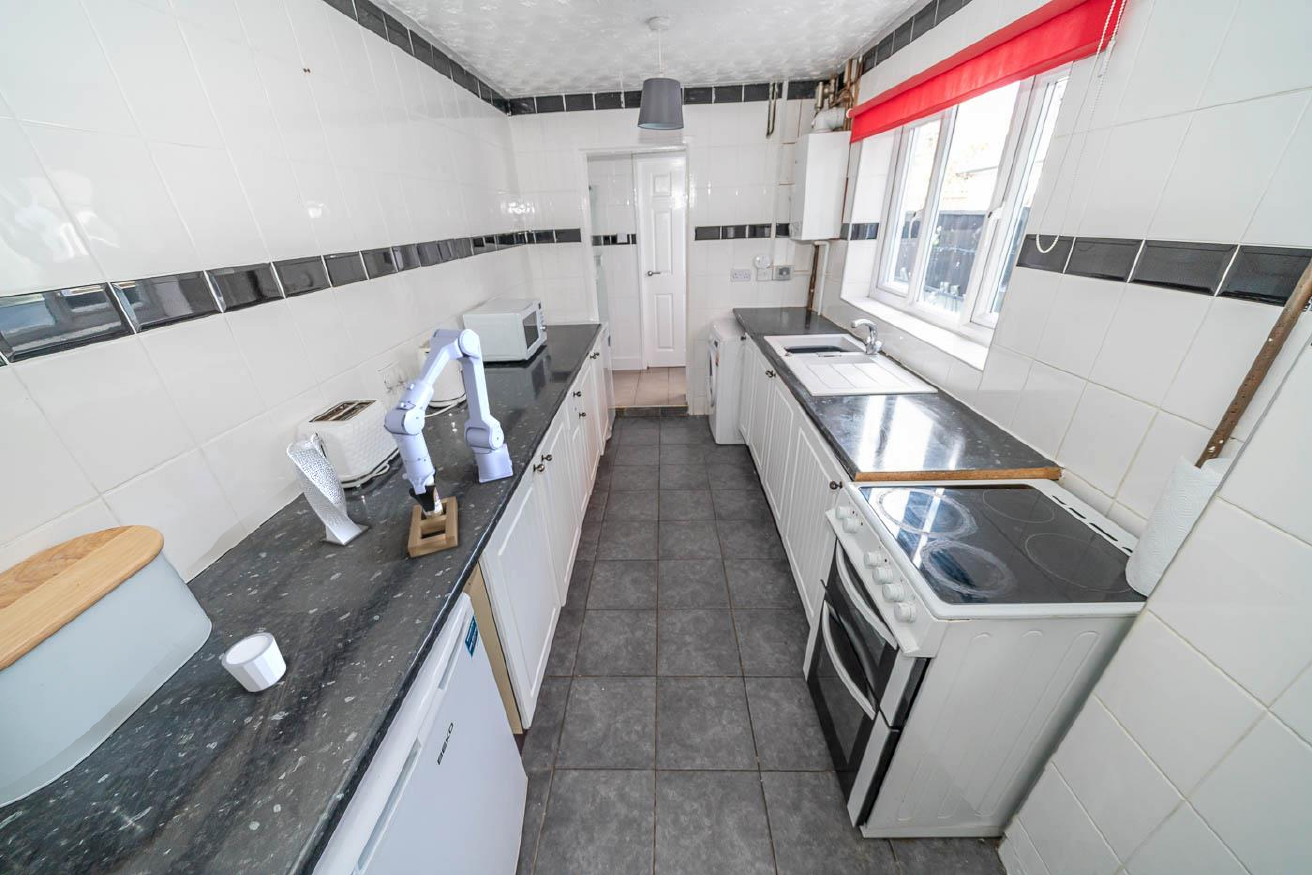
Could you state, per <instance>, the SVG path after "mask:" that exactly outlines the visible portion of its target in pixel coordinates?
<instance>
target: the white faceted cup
mask: <svg viewBox="0 0 1312 875" xmlns="http://www.w3.org/2000/svg"><path fill="white" fill-rule="evenodd" d="M279 648H280V647H279V646H278V644H277V641H276V640H275V637H274V635H273V634H271V633H270V632H258V633H254V634H251V635H248V636H247V637H244V638H242V639H241V640H240V641H238V642H236V643H234V644H233V645H232V646H231V647H230V648H229V649H228V650H226V652H225V653H224V655H223V657H222V658H221V666H222V667H223V668H224V669H226V671H227V672H228V673H229V674H231V675H232V677H234V679H236V681H237V682H239V683H240V685H242V686H243V688H244V689H246V691H248V692H251V693H252V692H253V693H257V692H261V691H263V690H266V689H267V688H269V687H271V686H273V685H274V684H276V683H277V682H278V681H279V680H280V679H281V678H282V677H283V675H284V674H285V673H286V670H287V665H286V662H285V660H284V657H283V656H282V652H281V651H280V649H279Z"/></svg>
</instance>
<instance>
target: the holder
mask: <svg viewBox="0 0 1312 875" xmlns="http://www.w3.org/2000/svg"><path fill="white" fill-rule="evenodd" d="M440 502H441V505H442V509H443V512H444V513H445V514H444V515H443V516H438V517H434V518H430V519H426V516H425V514H424V512H423V509H422V506H421V505H420V503H419V504H415V505H413V510H412V517H411V522H410V529H409V535H408V542H407V550H408V553H409V556H410V558H416V557H420V556H423V555H427V554H431V553H434V552H438V551H443V550H446V549H450V548H455V547H458V532H459V530H458V527H459V524H458V522H459V520H458V519H459V518H458V516H459V514H458V513H459V510H458V509H459V505H458V502H457V498H456V495H455V496H449V497H445V498H442V499H440ZM441 531H445V533H442V534H437V535H433V536H430V537H425V538H423V537H424V536H425V535H430V534H434V533H438V532H441Z"/></svg>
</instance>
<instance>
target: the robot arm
mask: <svg viewBox="0 0 1312 875" xmlns="http://www.w3.org/2000/svg"><path fill="white" fill-rule="evenodd" d="M428 342H429V347H430V349H429V352H428V353H427V356H426V358H425V361H424V363H423V365H422V367H421V370H420V372H419V374H418V377H417V378H416V379H413V380H410V381H409V382H408V383H407V384H406V385H405V387H404V388H405V390H404V391H403V393H402V395H401V397H400V399H399V400H398V401H397V404H396V406H395V407H394V408H391V409H390V410H389V411H388V412H387V413H386V414H385V416H384V424H383V425H382V426H383V428H384V430H385V431H386V432H388V433H390V435H391V436H392V439H394V440H395V443H396V446H397V449H398V452H399V455H400V457H401V460H402V463H403V465H404V469H405V473H403V474H402V479H403V480H404V481H405V480H408V481H409V482H410V483H411V485H412V486H413V487H411V488H408V494H409V496H410V497H411V498H413V499H414V500H415V501H417V502H418V503H419V504H420V505H421V506H422V508H423V509H424V510H425V512H429V511H433V510H435V501H434V490H435V487H436V488H437V485H436V474H437V470H438V468H437V466H433V462H432V460H431V457H430V453H429V450H428V447H427V444H426V442H425V438H424V434H423V431H422V430H423V428H424V427H425V424H426V423H425V422H426V421H425V417H426V410H427V408H428V406H429V404H430V402H431V399H432V398H433V396H434V394H435V390H434V388H433V385H434V383H435V382H436V380H437V379H438V377H439V375H440V374H441V372H442V371H443V369H444V368H445V366H446V364H447V363H448V362H449V361H452V360H456V361H458V362H460V365H461V368H462V369H461V370H462V376H463V382H464V387H465V395H466V401H467V407H468V414H469V419H467V420H466V421H465V422H464V424H463V426H464V434H463V441H464V443H465V444H466V445H467V446H468V447H470V450H472V451H473V453H474V457H475V461H476V465H477V469H478V481H479V483H481V484H482V483H487V482H491V481H495V480H499V479H503V478H509V477H513V475H514V472H513V462H512V459H511V458H510V455H509V450H508V445H507V443H504V440H505V435H504V432H503V430H502V427H501V422H500V421H499V420H497V419H496V418H494V416H492V415H491V410H490V404H489V396H488V390H487V382H486V376H485V369H484V362H483V356H482V354H483V353H482V350H481V342H480V336H479V335H478V334H477V333H476V332H474V331H473V330H472V329H469V328H465V329H462V328H461V329H459V328H443V327H439V328H436V329H435V330H434V331H433V333H432V336H431V337H430V339H429V341H428ZM432 476H433V479H434V485H430V486H427V485H426V483H427V482H428V481H429V479H430V478H431V477H432Z"/></svg>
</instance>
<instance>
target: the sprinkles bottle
mask: <svg viewBox="0 0 1312 875" xmlns="http://www.w3.org/2000/svg"><path fill="white" fill-rule="evenodd" d="M426 485H427V486H430V485H434V479H433V476H432V477H431V478H430V479H429V481H428V482H427V483H426ZM440 500H441V499H440V496H439V493H438V491H437V486H436V487H435V490H434V501H435V510H433V511H429V512H425V510H424V509H423V508H422V509H423V512H424V514H425V516H426V517H425V520H426V519H430V518H434V517H438V516H443V515H445V512H443V509H442V505H441V502H440Z"/></svg>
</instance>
